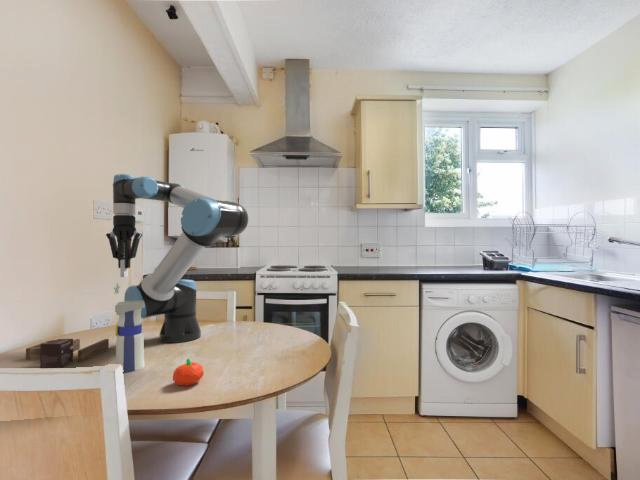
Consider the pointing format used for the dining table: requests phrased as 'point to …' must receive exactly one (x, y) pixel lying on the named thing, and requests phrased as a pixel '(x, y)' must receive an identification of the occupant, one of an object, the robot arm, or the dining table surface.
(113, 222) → the robot arm
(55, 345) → the box
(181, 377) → the tomato
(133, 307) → the water bottle
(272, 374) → the dining table surface
